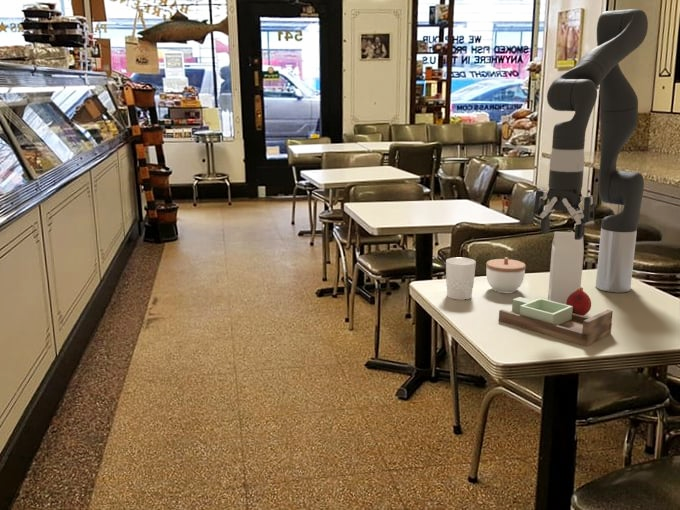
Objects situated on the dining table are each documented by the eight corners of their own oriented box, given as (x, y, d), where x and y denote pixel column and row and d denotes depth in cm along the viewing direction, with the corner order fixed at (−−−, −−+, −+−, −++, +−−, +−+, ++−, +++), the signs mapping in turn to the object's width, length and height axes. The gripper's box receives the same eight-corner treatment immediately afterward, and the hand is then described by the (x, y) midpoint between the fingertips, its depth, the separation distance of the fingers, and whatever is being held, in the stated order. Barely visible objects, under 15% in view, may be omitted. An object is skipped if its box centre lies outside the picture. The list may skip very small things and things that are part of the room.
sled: (525, 306, 172) (525, 294, 171) (571, 319, 163) (572, 306, 162) (505, 314, 166) (505, 301, 165) (552, 327, 157) (553, 314, 156)
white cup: (441, 298, 183) (443, 263, 181) (448, 290, 190) (449, 256, 188) (470, 302, 180) (472, 265, 178) (476, 294, 188) (478, 258, 185)
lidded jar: (480, 285, 196) (482, 253, 194) (516, 284, 197) (518, 252, 194) (491, 296, 186) (493, 263, 183) (529, 295, 186) (531, 262, 184)
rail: (524, 310, 174) (525, 289, 173) (610, 333, 158) (613, 310, 156) (498, 320, 166) (499, 298, 165) (586, 346, 150) (588, 322, 149)
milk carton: (578, 307, 176) (585, 236, 172) (550, 305, 178) (556, 234, 173) (575, 299, 183) (581, 230, 178) (547, 297, 184) (553, 229, 180)
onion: (586, 323, 164) (589, 292, 162) (562, 319, 167) (565, 288, 165) (592, 317, 169) (595, 286, 167) (568, 313, 172) (571, 282, 170)
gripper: (603, 169, 154) (597, 238, 158) (547, 164, 165) (543, 229, 169) (587, 172, 149) (581, 244, 154) (530, 167, 160) (526, 234, 164)
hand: (561, 236), depth 161 cm, fingers open, 8 cm apart
